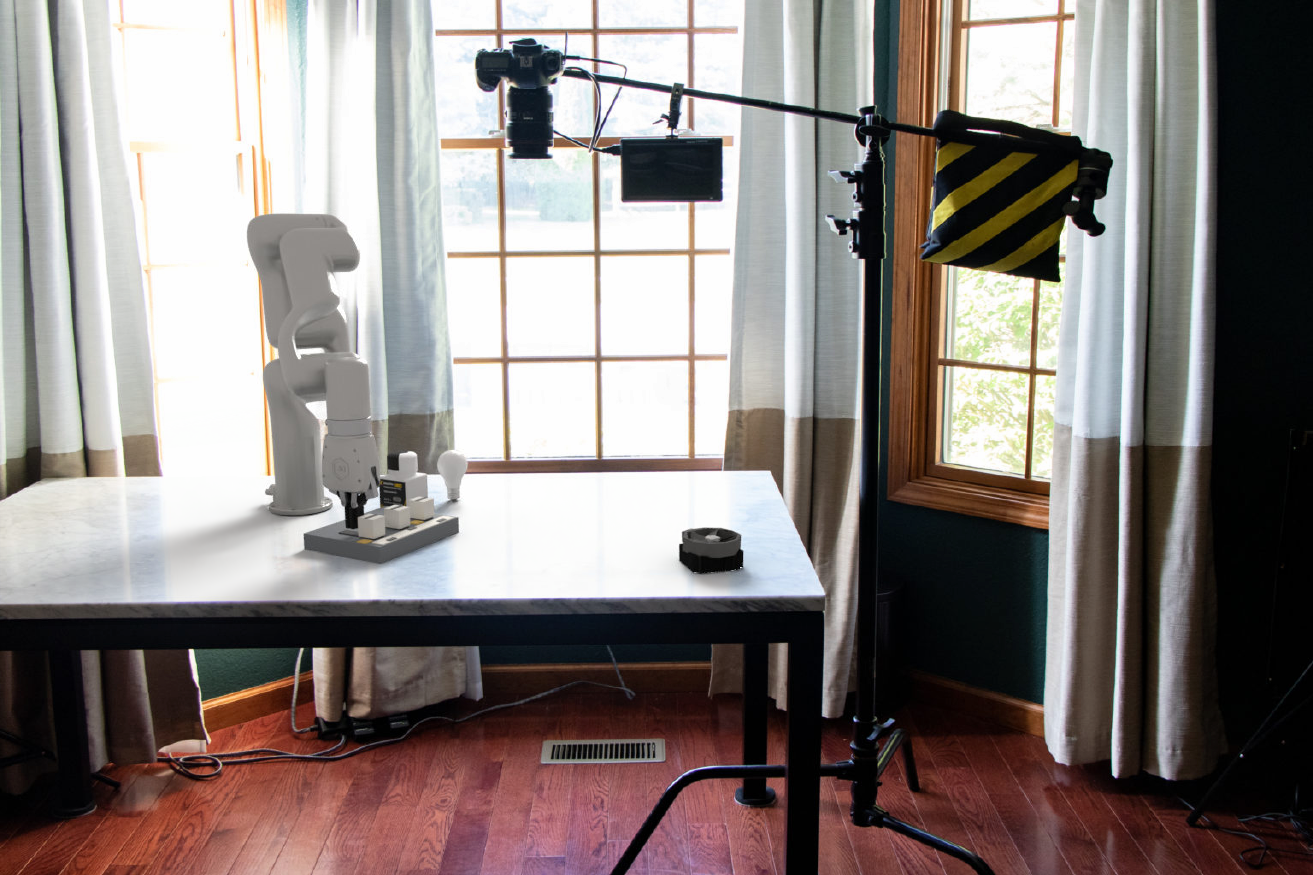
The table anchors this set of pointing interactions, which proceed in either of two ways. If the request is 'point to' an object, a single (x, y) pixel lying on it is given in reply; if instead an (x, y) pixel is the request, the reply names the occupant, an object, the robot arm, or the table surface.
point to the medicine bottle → (402, 480)
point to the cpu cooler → (711, 550)
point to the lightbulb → (452, 471)
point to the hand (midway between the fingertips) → (355, 526)
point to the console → (380, 538)
